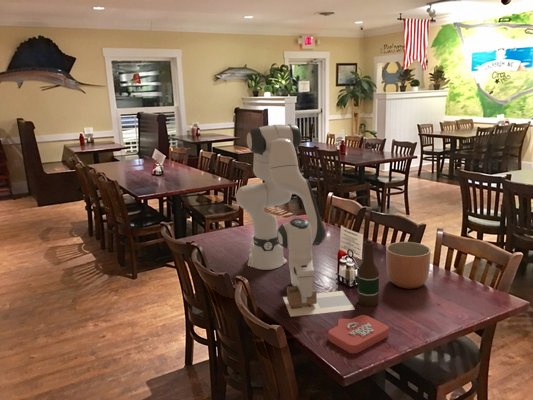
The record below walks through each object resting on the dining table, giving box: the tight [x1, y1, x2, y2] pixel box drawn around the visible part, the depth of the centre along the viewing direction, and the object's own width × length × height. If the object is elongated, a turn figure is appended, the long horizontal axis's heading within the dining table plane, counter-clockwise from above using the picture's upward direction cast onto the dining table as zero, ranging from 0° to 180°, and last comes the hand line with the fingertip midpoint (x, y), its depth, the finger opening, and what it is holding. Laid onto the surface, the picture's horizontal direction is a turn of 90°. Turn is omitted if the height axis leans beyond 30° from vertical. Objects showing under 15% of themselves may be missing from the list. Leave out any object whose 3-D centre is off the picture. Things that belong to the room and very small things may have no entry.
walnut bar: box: [286, 285, 317, 306], centre depth 169 cm, size 6×10×5 cm, turn 98°
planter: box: [385, 241, 432, 290], centre depth 184 cm, size 17×17×15 cm
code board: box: [282, 290, 356, 317], centre depth 171 cm, size 16×24×1 cm, turn 98°
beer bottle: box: [357, 240, 380, 307], centre depth 168 cm, size 8×8×24 cm
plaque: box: [327, 314, 390, 354], centre depth 149 cm, size 18×4×15 cm
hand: (301, 297), depth 170 cm, fingers closed on walnut bar, 6 cm apart
